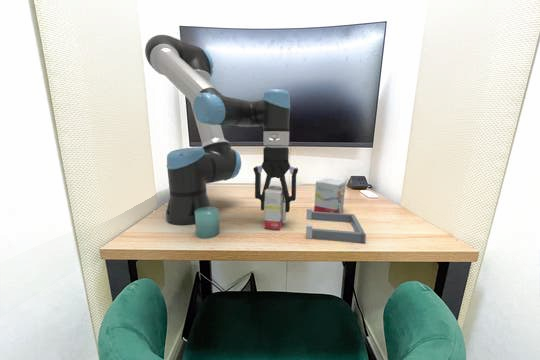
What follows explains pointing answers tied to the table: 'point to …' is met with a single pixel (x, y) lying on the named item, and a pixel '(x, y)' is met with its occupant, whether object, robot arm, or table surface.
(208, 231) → the teal rounded cylinder
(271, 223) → the ink box
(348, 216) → the u-shaped handle bar
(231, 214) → the table surface
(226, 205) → the table surface
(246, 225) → the table surface
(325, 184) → the ink box
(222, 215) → the table surface
